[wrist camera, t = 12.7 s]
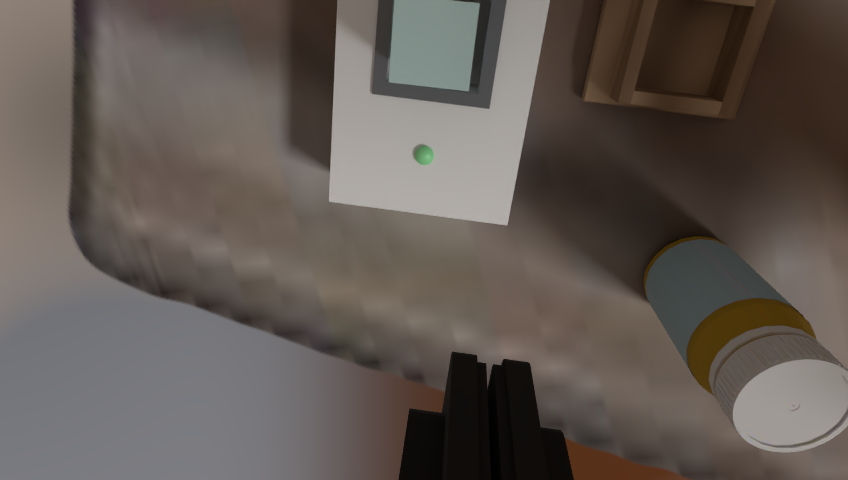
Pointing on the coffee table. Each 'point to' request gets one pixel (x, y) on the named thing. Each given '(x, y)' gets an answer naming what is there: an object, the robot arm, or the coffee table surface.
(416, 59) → the plug
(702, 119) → the coffee table surface
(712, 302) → the bottle
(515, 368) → the robot arm
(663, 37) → the square wooden tray
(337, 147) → the panel
